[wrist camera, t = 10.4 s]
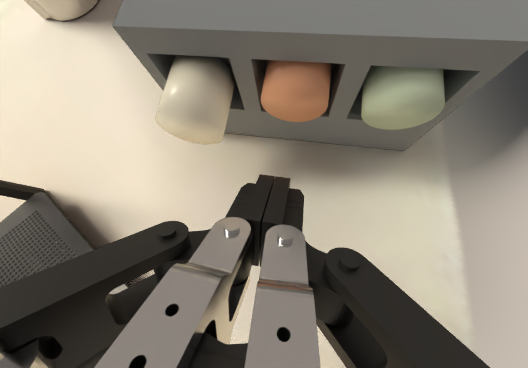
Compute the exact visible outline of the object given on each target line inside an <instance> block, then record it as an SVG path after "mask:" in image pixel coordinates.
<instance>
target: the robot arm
mask: <svg viewBox="0 0 528 368" xmlns="http://www.w3.org/2000/svg"><path fill="white" fill-rule="evenodd" d="M24 1H25V2H26V3H27V4H28V5H30V6H31V7H32V8H33V9H34V10H35V11H36V12H37V13H38V14H39V15H40V16H41V17H42V18H43V19H47V18H53V19H55V20H61V21H64V20H71V19H75V18H77V17H80V16H82V15H83V14H85V13H87V12H88V11H89V10H91V9H92V8H93V7H94V6H95V4H96V3H97V2H98V0H24ZM289 187H290V178H283V177H275V176H268V175H259V178H258V180H257V182H256V184H253V183H247V184H246V185H244V186H243V187H241V189H240V191H239V193H238V195H237V196H236V198H235V200H234V202H233V204H232V206H231V208H230V210H229V211H228V213H227V215H226V217H225V218H224V219H221V220H219V221H218V222H216V223H215V225H214V226H213V227H212V229H209V230H204V231H192V232H189V231H188V227H187V226H186V225H185V224H184V223H182V222H178V221H168V222H163V223H160V224H158V225H155V226H153V227H150V228H148V229H145V230H143V231H140V232H138V233H135V234H133V235H130V236H128V237H125V238H123V239H120V240H118V241H115V242H113V243H110V244H108V245H105V246H103V247H100V248H98V249H95V250H93V251H90V252H87V253H85V254H82V255H80V256H77V257H75V258H72V259H70V260H67V261H65V262H62V263H60V264H57V265H55V266H52V267H50V268H47V269H45V270H42V271H40V272H37V273H35V274H32V275H30V276H27V277H25V278H22V279H20V280H17V281H15V282H12V283H10V284H7V285H5V286H2V287H0V368H320V358H319V347H318V336H317V326H318V327H319V328H320V330H321V331H322V333H323V334H324V336H325V337H326V339H327V340H328V341H329V343H330V344H331V346H332V347H333V349H334V350H335V352H336V353H337V355H338V356H339V357H340V359H341V360H342V362H343V363H344V365H345V366H346V368H490V367H489V366H487V365H486V364H485V363H484V362H483V361H482V360H481V359H480V358H478V357H477V356H476V355H475V354H474V353H473V352H472V351H471V350H469V349H468V348H467V347H466V346H465V345H464V344H463V343H461V342H460V341H459V340H458V339H457V338H456V337H455V336H454V335H452V334H451V333H450V332H449V331H448V330H447V329H446V328H444V327H443V326H442V325H441V324H440V323H439V322H438V321H436V320H435V319H434V318H433V317H432V316H431V315H430V314H429V313H427V312H426V311H425V310H424V309H423V308H422V307H421V306H419V305H418V304H417V303H416V302H415V301H414V300H413V299H412V298H410V297H409V296H408V295H407V294H406V293H405V292H404V291H402V290H401V289H400V288H399V287H398V286H397V285H396V284H395V283H393V282H392V281H391V280H390V279H389V278H388V277H387V276H385V275H384V274H383V273H382V272H381V271H380V270H379V269H377V268H376V267H375V266H374V265H373V264H372V263H371V262H370V261H368V260H367V259H366V258H365V257H364V256H363V255H361V254H360V253H358V252H356V251H354V250H352V249H348V248H335V249H332V250H330V251H329V252H328V253H327V254H326V253H324V252H322V251H319V250H317V249H315V248H313V247H312V246H310V245H309V244H308V243H307V242H306V241H305V237H304V235H303V233H302V226H303V207H304V195H303V194H302V192H301V191H300V190H298V189H290V188H289ZM259 261H260V267H261V270H260V277H259V281H258V283H257V288H256V295H255V301H254V308H253V314H252V321H251V328H250V334H249V341H248V343H246V344H230V338H231V333H232V329H233V326H234V323H235V320H236V318H237V315H238V312H239V309H240V307H241V304H242V301H243V299H244V296H245V293H246V290H247V288H248V285H249V282H250V270H251V266H252V265H255V266H258V265H259ZM153 269H154V272H155V274H154V275H152V276H150V277H148V278H146V279H144V280H142V281H140V282H138V283H136V284H134V285H132V286H131V287H129V288H127V289H125V290H123V291H121V292H119V293H116V294H109V293H110V292H111V291H112V290H114V289H115V288H117V287H119V286H121V285H123V284H125V283H127V282H129V281H131V280H133V279H135V278H137V277H139V276H141V275H143V274H145V273H147V272H149V271H151V270H153ZM316 324H317V325H316Z"/></svg>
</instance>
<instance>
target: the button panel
mask: <svg viewBox="0 0 528 368" xmlns="http://www.w3.org/2000/svg"><path fill="white" fill-rule="evenodd" d="M113 28H114V29H115V30H116V31H117V33H118V34H119V35H120V36H121V38H122V39H123V40H124V41H125V43H126V44H127V45H128V47H129V48H130V49H131V50H132V52H133V53H134V54H135V55H136V57H137V58H138V59H139V60H140V62H141V63H142V64H143V66H144V67H145V68H146V69H147V71H148V72H149V73H150V74H151V76H152V77H153V78H154V79H155V81H156V82H157V83H158V84H159V86H160V87H161V88H162V90H163V91H164V88H165V85H166V82H167V79H168V75H169V72H170V69H171V66H172V63H173V59H174V57H175V56H176V55H188V56H206V57H217V58H218V59H220V60H221V61H223V62H224V63H225V64H226V65H227V66H228V67H229V68H230V70H231V71H232V73H233V74H234V77H235V87H234V91H233V96H232V100H231V105H230V109H229V114H228V118H227V123H226V127H225V132H224V133H230V134H240V135H250V136H260V137H270V138H280V139H290V140H300V141H310V142H320V143H330V144H340V145H350V146H360V147H370V148H380V149H390V150H400V151H404V150H406V149H407V148H408V147H409V146H411V145H412V144H413V143H414V142H415V141H417V140H418V139H419V138H420V137H422V136H423V135H424V134H425V133H426V132H428V131H429V130H430V129H431V128H432V127H434V126H435V125H436V124H437V123H439V122H440V121H441V120H442V119H443V118H445V117H446V116H447V115H448V114H450V113H451V112H452V111H453V110H454V109H455V108H457V107H458V106H459V105H460V104H462V103H463V102H464V101H465V100H466V99H468V98H469V97H470V96H472V95H473V94H474V93H475V92H476V91H477V90H479V89H480V88H481V87H482V86H484V85H485V84H486V83H487V82H489V81H490V80H491V79H492V78H493V77H495V76H496V75H497V74H498V73H500V72H501V71H502V70H503V69H504V68H505V67H507V66H508V65H509V64H511V62H513V61H514V60H515V59H517V58H518V57H519V56H520V55H521V54H523V53H524V52H525V51H526V50H527V49H528V0H123V1H122V4H121V6H120V9H119V11H118V14H117V16H116V18H115V21H114V23H113ZM268 60H281V61H300V62H319V63H332V69H331V79H330V89H329V99H328V107H327V110H326V111H325V112H324V113H323V114H322V115H321V116H320V117H318V118H316V119H313V120H310V121H305V122H290V121H285V120H281V119H278V118H276V117H274V116H272V115H271V114H269V113H268V112H267V111H266V110H265V109H264V108H263V106H262V104H261V94H262V89H263V84H264V78H265V73H266V67H267V62H268ZM371 65H375V66H393V67H412V68H431V69H443V75H444V96H445V106H444V108H443V110H442V111H441V113H440V114H439V115H437V116H436V117H435V118H433V119H432V120H430V121H428V122H426V123H423V124H421V125H418V126H415V127H411V128H406V129H397V130H385V129H379V128H375V127H372V126H370V125H368V124H366V123H365V122H364V121H363V119H362V117H361V111H362V94H363V82H364V79H365V77H366V75H367V73H368V71H369V69H370V66H371Z"/></svg>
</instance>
